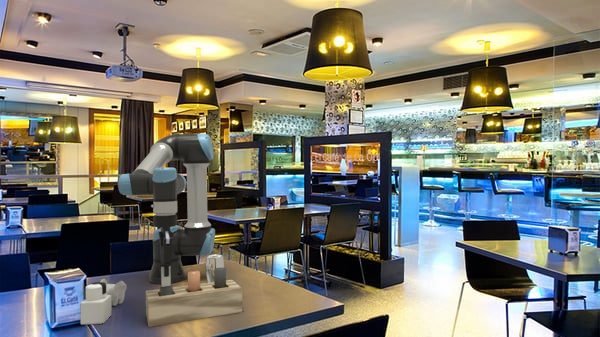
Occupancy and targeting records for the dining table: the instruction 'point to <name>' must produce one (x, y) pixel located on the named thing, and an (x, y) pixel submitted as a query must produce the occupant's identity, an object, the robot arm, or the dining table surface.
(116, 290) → the elephant figurine
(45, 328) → the dining table surface
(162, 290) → the black plug near
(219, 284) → the black plug far
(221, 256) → the beer glass
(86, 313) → the medicine bottle
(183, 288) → the socket block
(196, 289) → the terracotta plug
